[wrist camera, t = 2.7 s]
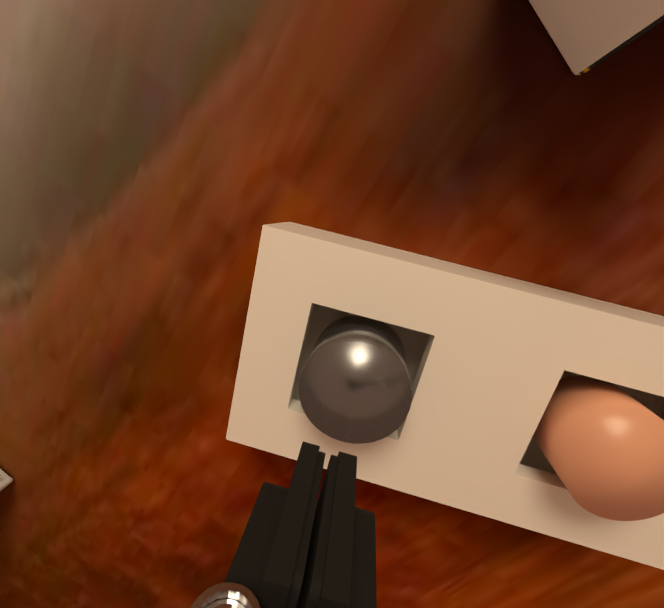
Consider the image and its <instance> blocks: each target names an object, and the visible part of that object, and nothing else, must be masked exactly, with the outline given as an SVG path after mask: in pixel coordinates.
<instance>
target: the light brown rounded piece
mask: <svg viewBox="0 0 664 608" xmlns="http://www.w3.org/2000/svg"><path fill="white" fill-rule="evenodd" d="M532 438H533V439H534V441H535V442H536V444H537V445H538V447H539V448H540V450H541V451H542V453H543V454H544V455H545V457H546V458H547V460H548V461H549V463H550V464H551V466H552V467H553V469H554V470H555V472H556V473H557V475H558V476H559V478H560V479H561V481H562V482H563V484H564V485H565V487H566V488H567V490H568V491H569V492H570V494H571V495H572V497H573V498H574V500H575V501H576V502H577V503H578V504H579V505H580V506H581V507H583V508H584V509H585V510H587V511H589V512H590V513H592V514H594V515H596V516H599V517H602V518H606V519H610V520H616V521H637V520H644V519H648V518H652V517H655V516H658V515H661V514H663V513H664V420H662V419H661V418H660V417H658V416H657V415H656V414H654V413H653V412H652V411H650V410H649V409H648V408H646V407H645V406H643V405H642V404H641V403H639V402H638V401H637V400H635V399H634V398H633V397H631V396H630V395H629V394H627V393H626V392H625V391H623V390H622V389H620V388H619V387H618V386H616V385H615V384H613V383H610V382H606V381H603V380H599V379H595V378H591V377H588V376H584V375H578V376H571V377H567V378H563V379H561V380H559V382H558V384H557V387H556V389H555V391H554V393H553V395H552V397H551V399H550V401H549V403H548V405H547V407H546V409H545V411H544V414H543V416H542V418H541V420H540V422H539V424H538V426H537V428H536V430H535V432H534V434H533V436H532Z"/></svg>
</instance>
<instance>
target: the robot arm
mask: <svg viewBox="0 0 664 608" xmlns="http://www.w3.org/2000/svg"><path fill="white" fill-rule="evenodd" d="M319 449H320V446H318V445H315V444H311V443H307V442H304V441H303V442H302V445H301V449H300V452H299V456H298V459H297V462H296V466H295V469H294V473H293V476H292V480H291V483H290V487H289V489H288V488H285V487H281V486H277V485H274V484H270V483H267V482H264V483H263V485H262V488H261V490H260V493H259V495H258V498H257V500H256V503H255V506H254V508H253V511H252V513H251V516H250V518H249V521H248V523H247V526H246V529H245V531H244V534H243V536H242V539H241V541H240V544H239V547H238V549H237V552H236V554H235V557H234V559H233V562H232V565H231V567H230V570H229V572H228V575H227V577H226V580H225V582H224V583H220V584H217V585H215V586H212V587H210V588H209V589H207V590H206V591H205V592H203V593H202V594H201V595H200V596H199V597H198V598H197V600H196V601H195V602H194V603H193V605H192V606H191V608H377V606H376V552H375V515H374V512H370V511H366V510H363V509H359V508H356V507H355V493H356V473H357V456H355V455H351V454H347V453H344V452H340V451H339V453H338V456H335V455H331V456H330V460H329V463H328V467H327V470H326V474H325V477H324V481H323V484H322V488H321V491H320V495H319V498H318V493H319V488H320V482H321V477H322V471H323V466H324V460H325V454H326V453H324V452H320V451H319ZM317 499H318V502H317ZM316 504H317V505H316Z"/></svg>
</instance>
